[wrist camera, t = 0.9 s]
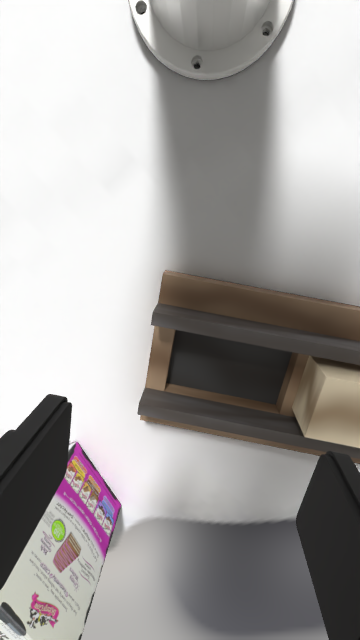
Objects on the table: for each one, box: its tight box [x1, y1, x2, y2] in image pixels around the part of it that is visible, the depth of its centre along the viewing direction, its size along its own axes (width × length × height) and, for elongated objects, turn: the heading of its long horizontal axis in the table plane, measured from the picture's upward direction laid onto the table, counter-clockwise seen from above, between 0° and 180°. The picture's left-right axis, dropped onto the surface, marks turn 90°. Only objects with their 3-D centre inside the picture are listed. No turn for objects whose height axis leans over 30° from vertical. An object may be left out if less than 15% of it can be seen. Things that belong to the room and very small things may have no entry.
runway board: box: [138, 270, 360, 464], centre depth 30 cm, size 16×38×5 cm, turn 80°
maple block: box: [292, 356, 360, 448], centre depth 29 cm, size 6×6×4 cm
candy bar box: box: [0, 442, 121, 640], centre depth 32 cm, size 11×5×16 cm, turn 27°
